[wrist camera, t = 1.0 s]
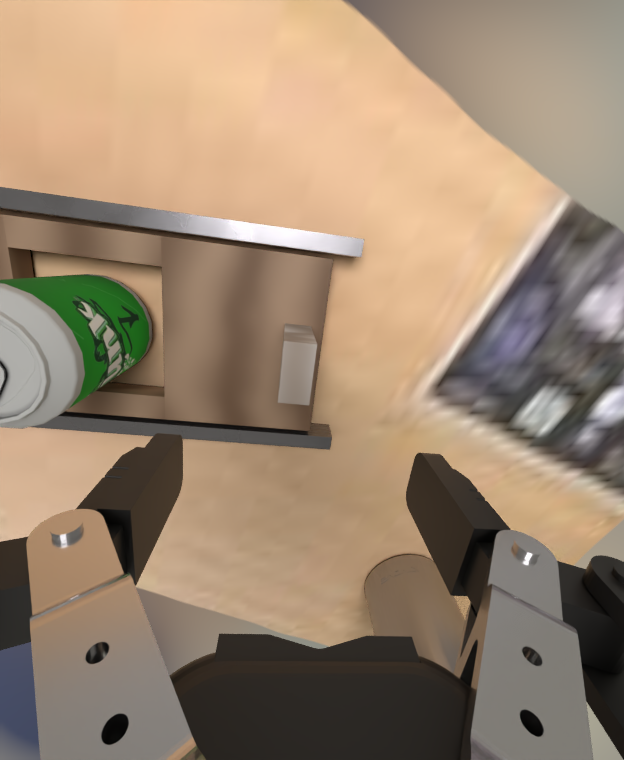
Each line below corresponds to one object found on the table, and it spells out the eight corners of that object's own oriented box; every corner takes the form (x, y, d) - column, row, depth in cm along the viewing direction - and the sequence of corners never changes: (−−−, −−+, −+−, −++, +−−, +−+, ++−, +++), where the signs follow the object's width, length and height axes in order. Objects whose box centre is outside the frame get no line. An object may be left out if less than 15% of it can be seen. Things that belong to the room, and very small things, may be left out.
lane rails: (357, 241, 26) (364, 239, 24) (326, 435, 31) (329, 449, 29) (-136, 170, 22) (-184, 160, 20) (-72, 404, 28) (-103, 416, 26)
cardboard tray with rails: (329, 259, 26) (346, 258, 18) (308, 420, 30) (314, 472, 23) (-21, 211, 23) (-170, 187, 16) (13, 395, 28) (-90, 445, 20)
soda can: (45, 336, 27) (-134, 392, 15) (80, 253, 25) (-94, 246, 14) (135, 383, 28) (33, 462, 17) (173, 308, 27) (88, 342, 15)
